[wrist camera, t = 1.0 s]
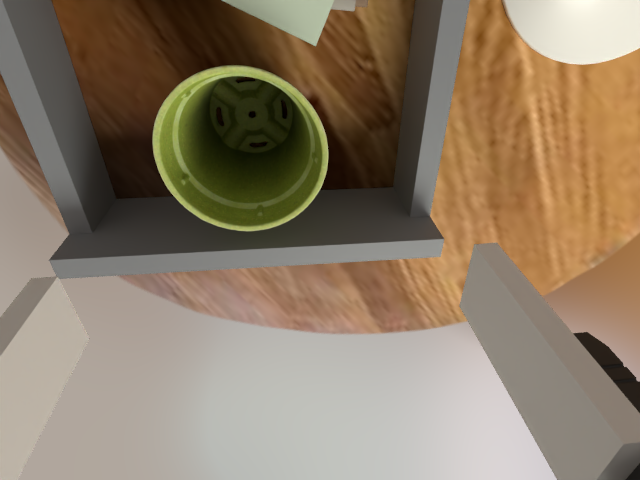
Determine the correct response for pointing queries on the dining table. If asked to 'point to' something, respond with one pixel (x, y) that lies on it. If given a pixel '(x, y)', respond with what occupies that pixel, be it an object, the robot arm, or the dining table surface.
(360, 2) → the offcut bottom
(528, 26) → the mat
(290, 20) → the offcut top
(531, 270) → the dining table surface
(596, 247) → the dining table surface
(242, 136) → the plant pot
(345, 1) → the block
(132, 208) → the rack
